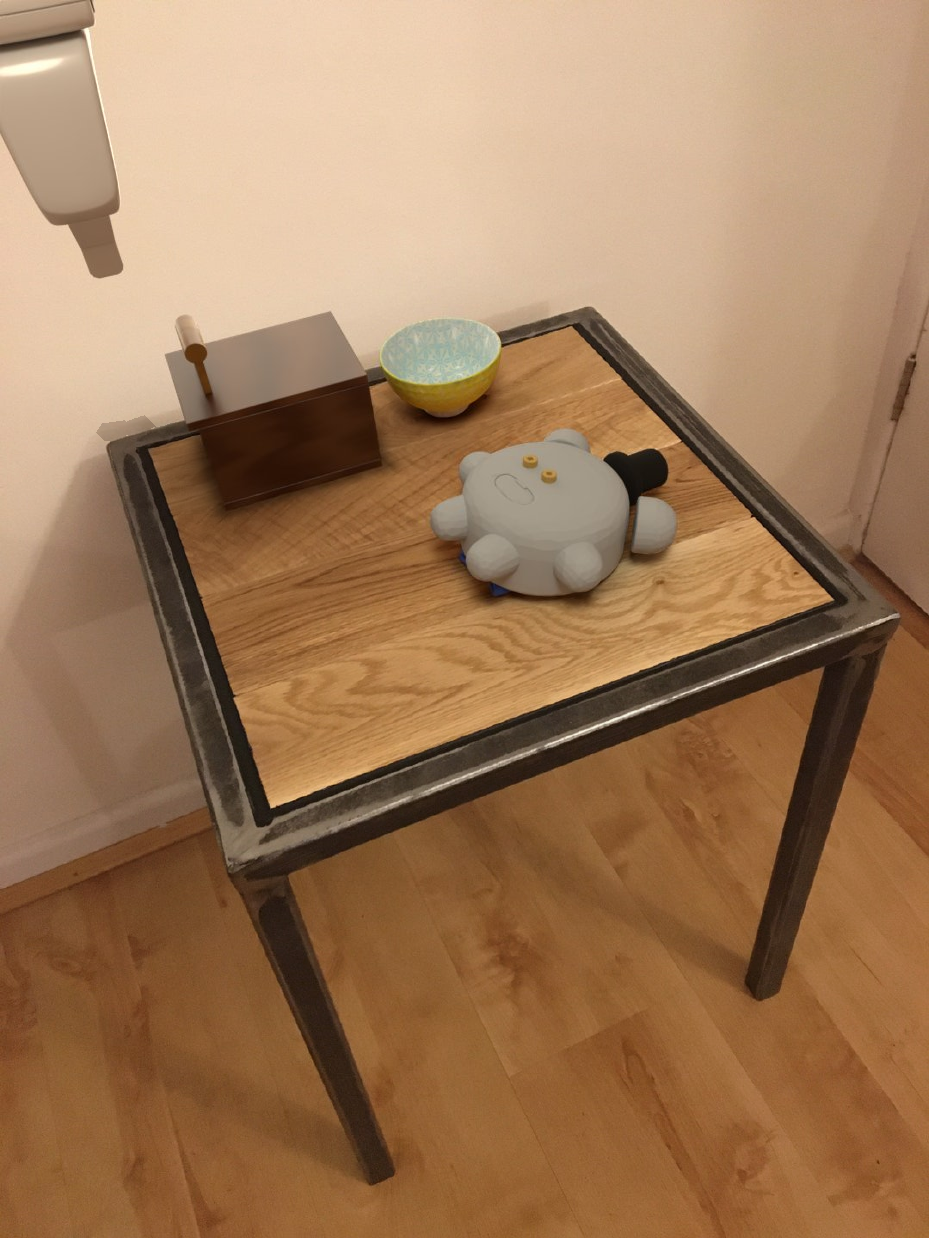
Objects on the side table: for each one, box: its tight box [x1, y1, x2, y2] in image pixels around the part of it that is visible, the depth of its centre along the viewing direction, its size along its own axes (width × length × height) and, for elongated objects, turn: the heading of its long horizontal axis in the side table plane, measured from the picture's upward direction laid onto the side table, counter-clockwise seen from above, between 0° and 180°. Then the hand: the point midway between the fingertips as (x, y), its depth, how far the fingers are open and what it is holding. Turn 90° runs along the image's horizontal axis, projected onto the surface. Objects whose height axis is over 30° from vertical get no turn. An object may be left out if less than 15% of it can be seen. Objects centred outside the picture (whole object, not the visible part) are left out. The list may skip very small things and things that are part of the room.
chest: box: [198, 382, 383, 512], centre depth 86 cm, size 15×12×9 cm
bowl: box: [378, 316, 502, 418], centre depth 91 cm, size 11×12×6 cm
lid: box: [164, 310, 369, 433], centre depth 81 cm, size 15×12×6 cm
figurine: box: [429, 428, 678, 597], centre depth 76 cm, size 17×8×20 cm
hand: (97, 235), depth 55 cm, fingers open, 8 cm apart
